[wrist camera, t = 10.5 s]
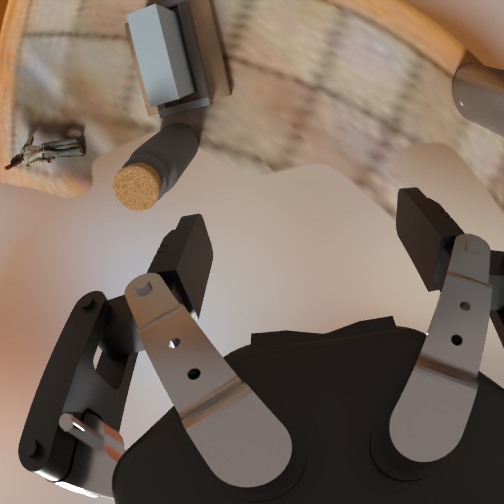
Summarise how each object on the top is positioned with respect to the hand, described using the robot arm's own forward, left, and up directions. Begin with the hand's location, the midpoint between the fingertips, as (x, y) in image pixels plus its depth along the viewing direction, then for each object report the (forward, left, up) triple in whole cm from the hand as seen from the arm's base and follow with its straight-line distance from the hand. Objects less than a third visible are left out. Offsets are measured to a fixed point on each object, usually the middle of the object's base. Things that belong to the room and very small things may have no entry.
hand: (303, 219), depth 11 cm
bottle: (+14, +2, -28) cm, 32 cm away
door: (+11, -10, -27) cm, 31 cm away
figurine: (+35, -4, -29) cm, 46 cm away
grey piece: (+11, -10, -28) cm, 32 cm away
